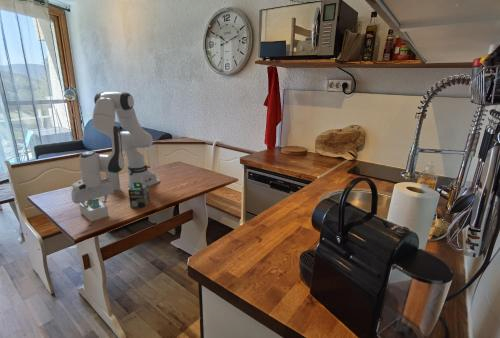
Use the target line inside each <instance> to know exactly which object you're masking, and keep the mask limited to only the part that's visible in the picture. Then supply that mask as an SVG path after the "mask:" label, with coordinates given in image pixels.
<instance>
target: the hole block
mask: <svg viewBox="0 0 500 338" xmlns="http://www.w3.org/2000/svg"><path fill="white" fill-rule="evenodd" d="M84 204H85V205H86V204H87V205H88V203H87V201H85V203H84ZM78 205H79V211H80V214H81V215H82V216H84V217H85V218H86V219H88V220H89V221H90V222H94V221H97V220H100V219H103V218H105V217H106V218H107V217H108V216H109V215H110V214H109V209H108V205H106V203H103V202H102V201H100V200H99V207H98V208H95V209H93V204H92V205H88V208H87V209H85V208H84V205H83V204H82V203H78Z"/></svg>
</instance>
